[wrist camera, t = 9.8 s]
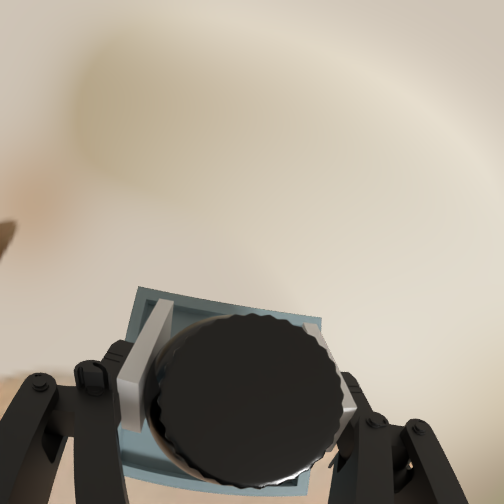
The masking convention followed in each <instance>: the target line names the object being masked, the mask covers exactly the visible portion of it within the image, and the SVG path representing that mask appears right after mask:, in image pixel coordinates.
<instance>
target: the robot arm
mask: <svg viewBox="0 0 504 504" xmlns="http://www.w3.org/2000/svg"><path fill="white" fill-rule="evenodd" d="M173 304H174V301H170V300H165V299H160V298H159V300H158V302H157V304H156V306H155V307H154V309H153V311H152V313H151V314H150V316H149V318H148V320H147V322H146V323H145V325H144V327H143V329H142V331H141V333H140V334H139V336H138V338H137V340H136V342H135V343H131V342H127V341H123V340H118V341H117V342H115V343H113V344H112V345H111V346H110V348H109V350H108V351H107V353H106V354H105V356H104V358H103V359H102V360H101V362H100V361H95V360H86V361H83V362H80V363H79V364H77V365H76V366H75V369H74V376H75V381H76V386H62V385H57V384H56V381H55V379H54V378H53V377H52V376H50V375H48V374H46V373H34V374H32V375H29V376H28V377H27V378H26V379H25V381H24V382H23V384H22V385H21V387H20V389H19V390H18V392H17V393H16V395H15V397H14V398H13V400H12V402H11V403H10V405H9V407H8V408H7V410H6V412H5V414H4V415H3V417H2V419H1V421H0V504H48V501H49V497H50V493H51V490H52V486H53V483H54V479H55V476H56V473H57V469H58V466H59V463H60V460H61V457H62V454H63V451H64V448H65V445H66V442H67V439H68V437H74V483H75V498H76V504H129V500H128V495H127V490H126V484H125V479H124V473H123V466H122V459H121V452H120V444H119V435H118V427H119V424H120V421H121V426H122V429H126V430H130V431H133V432H137V433H141V430H142V427H143V424H144V421H145V418H146V417H145V411H144V388H145V382H146V378H147V374H148V372H149V369H150V367H151V364H152V362H153V361H154V359H155V357H156V355H157V354H158V352H159V351H160V350H161V348H162V347H163V346H164V345H165V344H166V343H167V342H168V341H169V340H170V335H171V324H172V314H173ZM302 328H303V329H304V330H305V332H306V333H307V334H309V335H312V336H314V337H315V338H316V339H317V341H318V343H319V345H321V346H322V347H324V348H325V349H326V350H327V352H328V356H329V358H330V359H331V360H332V361H333V362H334V363H335V366H336V372H337V374H338V375H339V376H340V378H341V389H342V391H343V393H344V398H343V401H342V406H343V410H344V412H343V414H342V416H341V418H340V428H339V430H338V431H337V433H336V434H335V435H334V441H333V444H332V445H331V446H330V447H329V448H327V449H326V451H325V452H331V451H332V450H333V448H334V446H335V445H336V443H337V446H338V449H339V451H338V453H337V454H336V456H335V457H334V458H333V460H332V461H331V463H330V464H329V467H328V468H331V467H332V465H333V464H334V468H333V475H332V481H331V488H330V494H329V499H328V504H468V501H467V499H466V497H465V495H464V493H463V490H462V488H461V486H460V484H459V482H458V480H457V477H456V475H455V473H454V471H453V469H452V467H451V465H450V463H449V461H448V459H447V457H446V455H445V453H444V451H443V449H442V447H441V445H440V443H439V441H438V440H437V438H436V436H435V434H434V432H433V430H432V428H431V427H430V426H429V424H427V423H426V422H425V421H423V420H420V419H410V420H409V421H408V422H407V423H406V425H405V426H397V425H391V424H389V422H388V420H387V419H386V418H385V417H384V416H383V415H381V414H380V413H377V412H373V410H372V408H371V407H370V405H369V403H368V401H367V399H366V397H365V395H364V393H362V389H361V388H360V387H359V384H358V382H357V380H356V379H355V378H354V377H353V376H352V375H351V374H350V373H349V372H340V371H339V369H338V366H337V365H336V362H335V360H334V358H333V356H332V354H331V352H330V351H329V348H328V346H327V344H326V342H325V340H324V338H323V336H322V334H321V332H320V330H319V328H318V326H317V324H313V323H305V322H303V325H302ZM410 462H411V463H412V465H413V468H411V467H410V466H409V463H410Z"/></svg>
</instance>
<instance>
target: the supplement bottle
mask: <svg viewBox="0 0 504 504" xmlns="http://www.w3.org/2000/svg"><path fill="white" fill-rule="evenodd" d="M343 398H344V393H343V391H342V389H341V378H340V376H339V375H338V374H337V372H336V366H335V363H334V362H333V361H332V360H331V359H330V358H329V356H328V352H327V350H326V349H325V348H324V347H322V346H321V345H319V343H318V341H317V339H316V338H315V337H314V336H312V335H309V334H307V333H306V332H305V330H304V329H303V328H302V327H300V326H295V325H293V324H292V323H290V322H289V321H288V320H287V319H277V318H275V317H274V316H272V315H263V316H260V315H257V314H255V313H250V314H247V315H238V314H234V315H220V316H215V317H210V318H206V319H203V320H200V321H198V322H195V323H193V324H191V325H189V326H187V327H185V328H184V329H182V330H181V331H179V332H178V333H177V334H175V335H174V336H173V337H172V338H171V339H170V340H169V341H168V342H167V343H166V344H165V345H164V346H163V347H162V348H161V350H160V351H159V352H158V354H157V355H156V357H155V359H154V361H153V362H152V364H151V367H150V369H149V372H148V374H147V378H146V382H145V388H144V411H145V417H146V420H147V424H148V427H149V429H150V432H151V434H152V436H153V438H154V440H155V442H156V443H157V445H158V446H159V448H160V449H161V450H162V452H163V453H164V454H165V455H166V456H167V457H168V458H169V459H170V460H171V461H172V462H173V463H174V464H175V465H176V466H178V467H179V468H180V469H182V470H183V471H185V472H186V473H188V474H190V475H192V476H194V477H196V478H198V479H200V480H203V481H206V482H209V483H213V484H217V485H222V486H234V487H236V488H238V489H246V488H254V489H259V490H260V489H263V488H265V487H267V486H279V485H281V484H282V483H284V482H285V481H289V480H295V479H296V478H297V477H298V476H299V475H300V474H301V473H303V472H306V471H308V470H310V469H311V468H312V467H313V465H314V463H315V462H317V461H318V460H320V459H321V458H323V456H324V454H325V451H326V449H327V448H329V447H330V446H331V445H332V444H333V441H334V435H335V434H336V433H337V431H338V430H339V428H340V418H341V416H342V414H343V412H344V410H343V406H342V401H343Z"/></svg>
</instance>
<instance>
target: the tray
mask: <svg viewBox="0 0 504 504" xmlns="http://www.w3.org/2000/svg"><path fill="white" fill-rule="evenodd" d="M159 298H160V299H165V300H170V301H174V304H173V314H172V324H171V335H170V339H171V338H172V337H173V336H174V335H175V334H177V333H178V332H179V331H181V330H182V329H184V328H185V327H187V326H189V325H191V324H193V323H195V322H198V321H200V320H203V319H206V318H210V317H215V316H220V315H234V314H238V315H247V314H250V313H255V314H257V315H260V316H263V315H272V316H274V317H275V318H277V319H287V320H288V321H289V322H290V323H292V324H293V325H295V326H300V327H302V325H303V322H305V323H313V324H317V326H318V328H319V330H320V332H321V318H320V317H312V316H305V315H296V314H290V313H283V312H277V311H270V310H264V309H257V308H251V307H245V306H239V305H233V304H227V303H221V302H216V301H210V300H205V299H199V298H194V297H188V296H183V295H178V294H173V293H168V292H163V291H158V290H154V289H149V288H144V287H139V286H138V290H137V293H136V298H135V301H134V305H133V309H132V313H131V317H130V321H129V325H128V329H127V334H126V338H125V341H127V342H131V343H135V342H136V340H137V338H138V336H139V334H140V333H141V331H142V329H143V327H144V325H145V323H146V322H147V320H148V318H149V316H150V314H151V313H152V311H153V309H154V307H155V306H156V304H157V302H158V300H159ZM118 435H119V444H120V452H121V459H122V466H123V473H124V476H127V477H130V478H134V479H138V480H142V481H146V482H151V483H155V484H160V485H164V486H170V487H175V488H181V489H187V490H193V491H200V492H208V493H217V494H228V495H242V496H306V495H307V492H308V485H309V477H310V470H308V471H306V472H303V473H301V474H300V475H299V476H298V477H297V478H296V479H295V480H289V481H285V482H284V483H282V484H281V485H279V486H267V487H265V488H263V489H260V490H259V489H254V488H246V489H238V488H236V487H234V486H222V485H217V484H213V483H209V482H206V481H203V480H200V479H198V478H196V477H194V476H192V475H190V474H188V473H186V472H185V471H183V470H182V469H180V468H179V467H178V466H176V465H175V464H174V463H173V462H172V461H171V460H170V459H169V458H168V457H167V456H166V455H165V454H164V453H163V452H162V450H161V449H160V448H159V446H158V445H157V443H156V442H155V440H154V438H153V436H152V434H151V432H150V429H149V427H148V424H147V420H146V418H145V421H144V424H143V427H142V430H141V433H137V432H133V431H130V430H126V429H122V426H121V421H120V424H119V427H118Z"/></svg>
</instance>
